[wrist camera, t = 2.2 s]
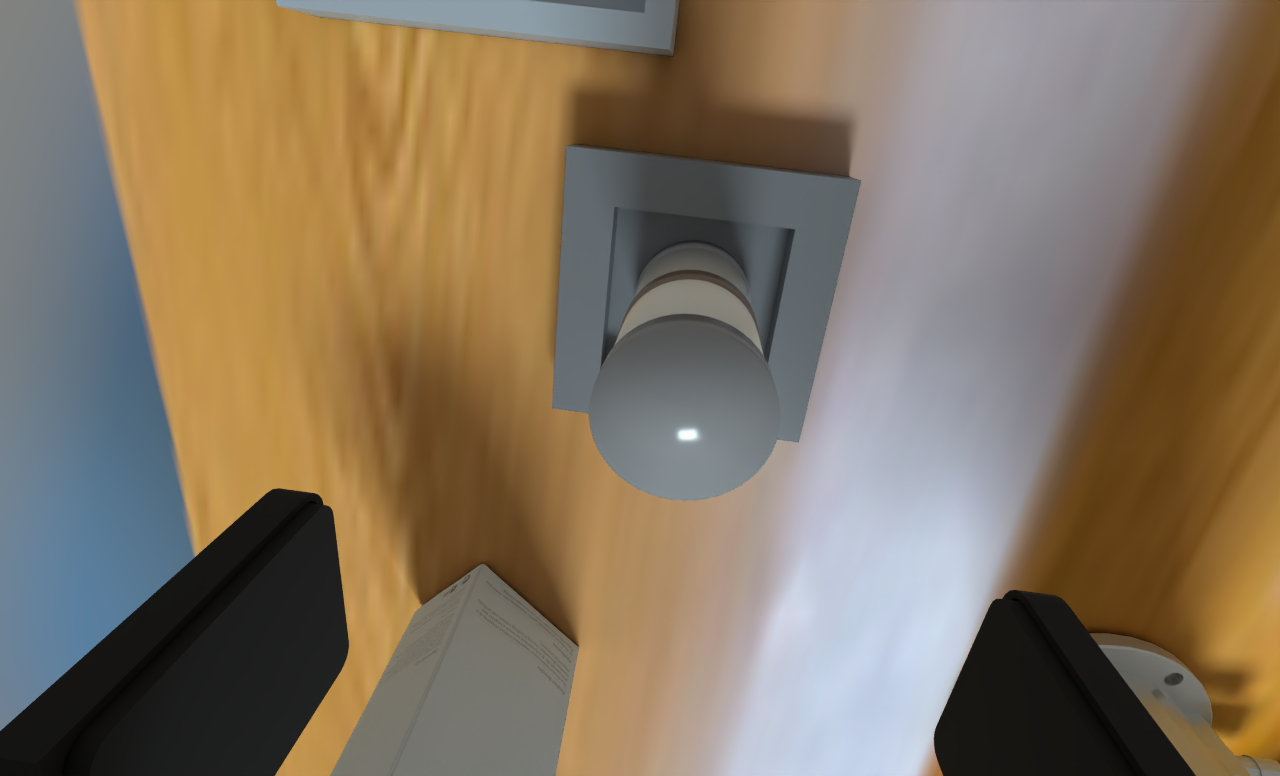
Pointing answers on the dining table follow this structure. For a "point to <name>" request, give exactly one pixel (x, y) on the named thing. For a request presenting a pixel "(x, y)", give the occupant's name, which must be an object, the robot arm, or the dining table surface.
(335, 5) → the tray
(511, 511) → the dining table surface
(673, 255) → the cylinder
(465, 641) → the skincare box
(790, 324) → the socket
